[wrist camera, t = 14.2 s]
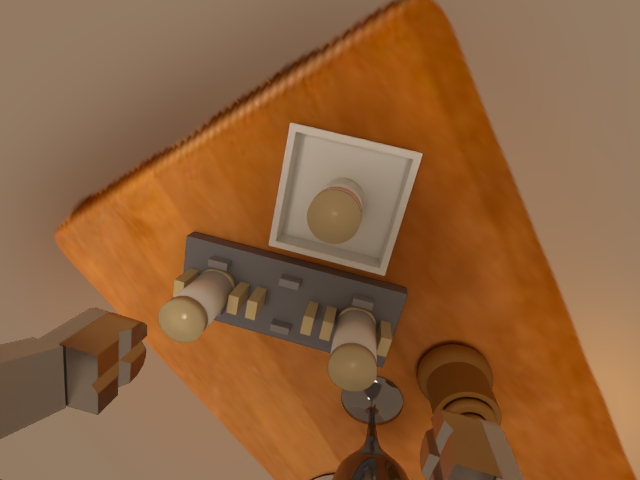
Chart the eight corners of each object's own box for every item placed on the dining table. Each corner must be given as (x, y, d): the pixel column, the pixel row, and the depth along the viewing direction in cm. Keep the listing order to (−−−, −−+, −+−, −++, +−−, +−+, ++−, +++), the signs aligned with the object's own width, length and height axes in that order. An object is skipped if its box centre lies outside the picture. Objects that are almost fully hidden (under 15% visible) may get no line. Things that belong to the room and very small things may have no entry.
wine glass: (380, 361, 37) (386, 502, 23) (420, 411, 38) (449, 574, 24) (324, 390, 39) (298, 535, 25) (363, 436, 41) (359, 598, 26)
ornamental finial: (478, 403, 37) (410, 390, 38) (496, 346, 34) (422, 334, 35) (506, 472, 29) (419, 455, 30) (531, 406, 27) (436, 389, 28)
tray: (383, 263, 33) (384, 275, 31) (276, 236, 34) (268, 245, 31) (418, 151, 30) (423, 153, 27) (297, 123, 30) (290, 122, 28)
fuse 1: (234, 305, 36) (200, 347, 29) (199, 295, 36) (157, 335, 29) (239, 272, 34) (204, 308, 27) (202, 262, 35) (159, 295, 28)
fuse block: (381, 358, 37) (383, 388, 33) (187, 303, 38) (164, 325, 34) (406, 287, 34) (411, 309, 30) (194, 231, 35) (170, 245, 31)
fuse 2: (369, 343, 35) (369, 397, 28) (332, 332, 35) (322, 383, 28) (380, 311, 33) (383, 358, 26) (342, 300, 34) (334, 344, 27)
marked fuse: (369, 183, 31) (367, 198, 24) (358, 224, 32) (353, 250, 25) (326, 172, 31) (312, 184, 24) (317, 214, 32) (301, 236, 25)
